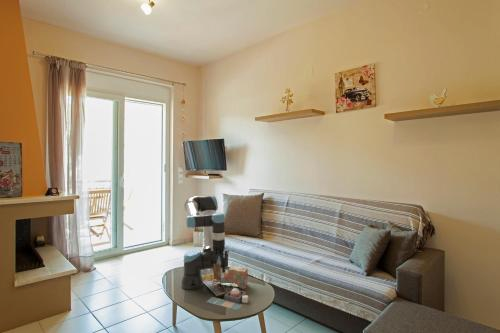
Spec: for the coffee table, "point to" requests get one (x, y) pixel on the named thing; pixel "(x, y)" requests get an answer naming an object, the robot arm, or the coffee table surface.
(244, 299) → the ivory die
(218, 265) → the walnut block
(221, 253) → the robot arm
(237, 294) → the dome
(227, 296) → the dome housing
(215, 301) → the track mat
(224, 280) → the stack of blocks
